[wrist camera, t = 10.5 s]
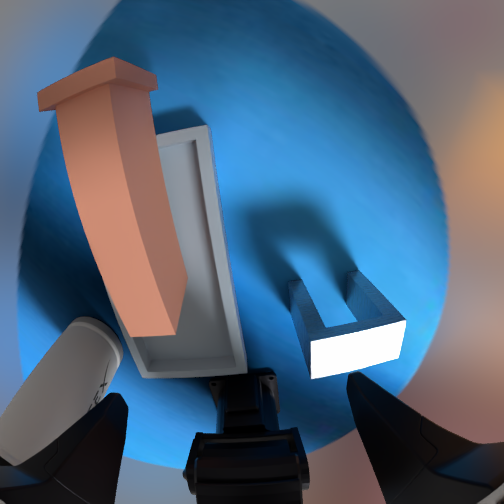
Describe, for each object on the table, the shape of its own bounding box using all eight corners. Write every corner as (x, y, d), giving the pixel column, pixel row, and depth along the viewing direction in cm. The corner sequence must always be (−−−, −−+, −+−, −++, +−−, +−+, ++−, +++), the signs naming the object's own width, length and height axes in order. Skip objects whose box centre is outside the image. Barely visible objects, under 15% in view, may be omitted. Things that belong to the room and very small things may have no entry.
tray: (246, 356, 24) (247, 373, 22) (148, 362, 24) (142, 378, 22) (210, 128, 17) (207, 124, 15) (90, 157, 17) (75, 158, 15)
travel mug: (63, 341, 23) (-26, 483, 4) (81, 303, 21) (-41, 472, 2) (109, 375, 24) (47, 533, 5) (134, 343, 23) (57, 540, 4)
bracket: (357, 301, 22) (398, 357, 15) (290, 313, 22) (310, 379, 15) (359, 270, 21) (406, 320, 14) (288, 281, 21) (311, 341, 14)
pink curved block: (195, 277, 20) (184, 341, 14) (144, 282, 20) (119, 344, 14) (156, 75, 13) (113, 56, 8) (97, 93, 13) (37, 92, 8)
